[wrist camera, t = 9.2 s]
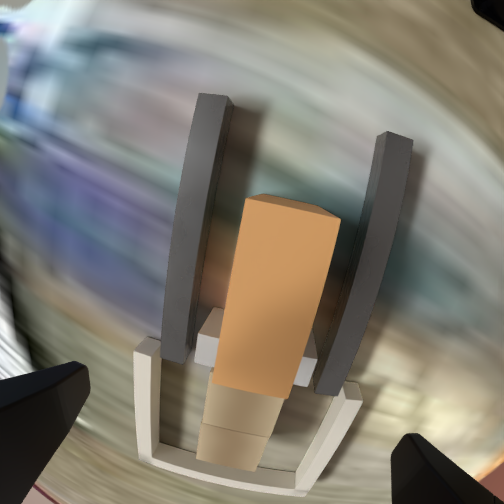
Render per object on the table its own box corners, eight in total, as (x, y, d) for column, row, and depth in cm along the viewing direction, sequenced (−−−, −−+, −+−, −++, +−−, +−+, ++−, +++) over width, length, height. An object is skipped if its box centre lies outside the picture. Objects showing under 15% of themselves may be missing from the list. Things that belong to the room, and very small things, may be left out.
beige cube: (288, 349, 18) (287, 388, 14) (273, 396, 19) (270, 437, 15) (224, 335, 18) (210, 371, 14) (216, 384, 19) (202, 422, 15)
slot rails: (400, 144, 14) (413, 140, 13) (334, 379, 18) (337, 396, 16) (207, 102, 15) (198, 92, 13) (169, 343, 19) (159, 357, 17)
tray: (357, 382, 18) (363, 401, 16) (304, 480, 21) (304, 496, 19) (146, 336, 19) (133, 350, 17) (146, 445, 21) (139, 459, 19)
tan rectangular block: (343, 211, 16) (384, 230, 9) (304, 353, 18) (310, 433, 11) (235, 188, 16) (198, 189, 9) (209, 332, 18) (172, 403, 11)
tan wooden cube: (272, 396, 19) (268, 437, 15) (260, 432, 20) (255, 471, 16) (215, 384, 19) (200, 422, 15) (208, 421, 20) (195, 458, 16)
